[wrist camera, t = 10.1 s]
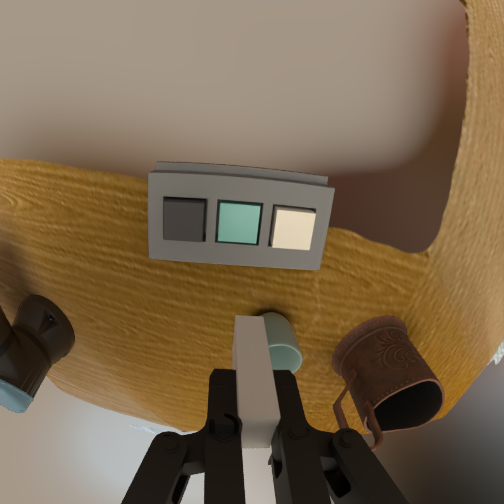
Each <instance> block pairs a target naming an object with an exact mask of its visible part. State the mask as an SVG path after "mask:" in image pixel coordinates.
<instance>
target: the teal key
mask: <svg viewBox="0 0 504 504" xmlns="http://www.w3.org/2000/svg"><path fill="white" fill-rule="evenodd" d="M259 215H260V204H259V203H258V202H246V201H234V200H221V203H220V216H219V231H218V241H227V242H241V243H255V244H256V241H257V232H258V223H259Z"/></svg>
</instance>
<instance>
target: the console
mask: <svg viewBox="0 0 504 504" xmlns="http://www.w3.org/2000/svg"><path fill="white" fill-rule="evenodd" d="M148 175H149V176H148V244H149V259H159V260H172V261H185V262H199V263H213V264H227V265H242V266H257V267H273V268H289V269H306V270H319V269H320V264H321V259H322V255H323V250H324V245H325V240H326V235H327V230H328V224H329V219H330V214H331V208H332V202H333V196H334V190H335V188H333V187H331V186H329V185H327V180H328V177H326V176H322V175H315V174H308V173H301V172H293V171H285V170H277V169H268V168H259V167H248V166H237V165H225V164H209V163H190V162H189V163H188V162H156V170H154V171H151V172H149V173H148ZM168 197H182V198H200V199H206V208H205V226H204V237H203V240H202V242H188V241H174V240H164V201H165V200H166V199H167V198H168ZM221 200H234V201H246V202H258V203H259V204H260V215H259V223H258V232H257V241H256V244H255V243H241V242H227V241H218V231H219V216H220V203H221ZM274 204H275V205H285V206H294V207H304V208H310V209H311V210H312V211H313V212H315V213H316V216H315V222H314V228H313V233H312V239H311V244H310V250H299V249H285V248H272V245H271V243H270V240H269V239H270V231H271V223H272V216H273V208H274Z"/></svg>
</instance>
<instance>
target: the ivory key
mask: <svg viewBox="0 0 504 504" xmlns="http://www.w3.org/2000/svg"><path fill="white" fill-rule="evenodd" d="M315 216H316V213H315V212H313V211H312V210H311V209H310V208H304V207H294V206H285V205H275V204H274V208H273V216H272V223H271V231H270V239H269V240H270V243H271V245H272V248H285V249H299V250H310V244H311V239H312V233H313V228H314V222H315Z"/></svg>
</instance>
